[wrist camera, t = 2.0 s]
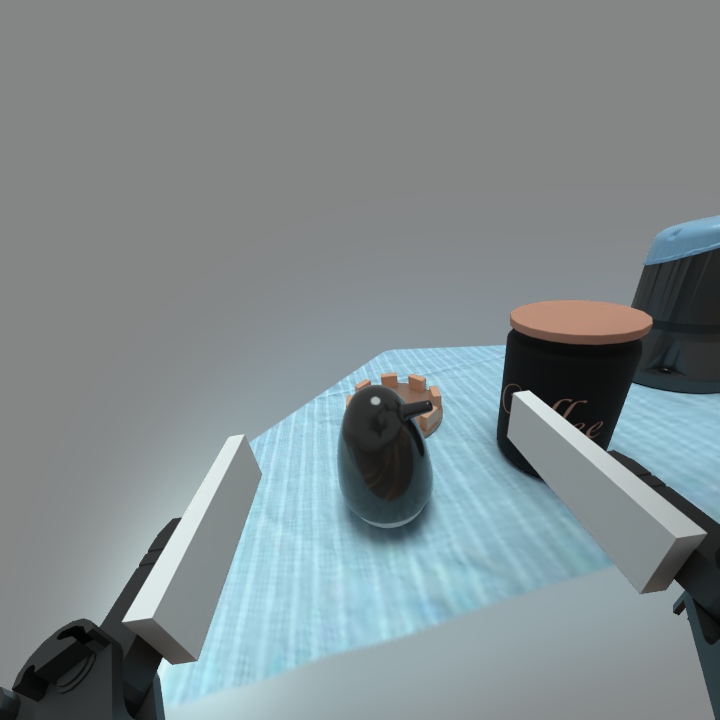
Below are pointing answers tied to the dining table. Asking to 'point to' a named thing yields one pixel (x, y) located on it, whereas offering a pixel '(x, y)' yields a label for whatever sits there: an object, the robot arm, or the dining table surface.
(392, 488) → the pump dispenser
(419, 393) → the castellated collar
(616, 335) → the coffee jar
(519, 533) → the dining table surface
